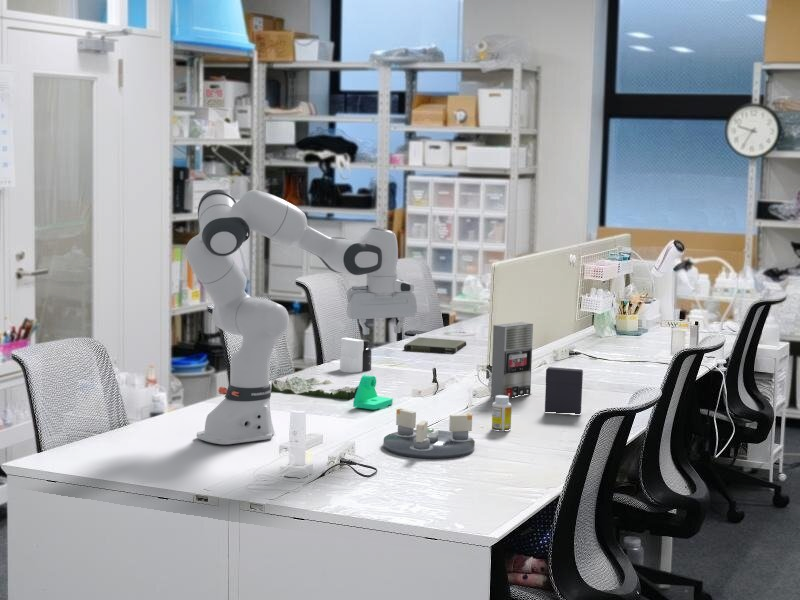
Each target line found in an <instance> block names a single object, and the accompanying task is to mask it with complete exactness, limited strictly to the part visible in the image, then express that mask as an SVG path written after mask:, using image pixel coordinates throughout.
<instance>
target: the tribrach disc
mask: <svg viewBox="0 0 800 600" xmlns="http://www.w3.org/2000/svg"><path fill="white" fill-rule="evenodd" d="M414 438H416V429H414V433H413V434H412V435H400V434H398V431H396V432H392V433H389V434H387V435H386V436H384V437H383V443H382V444H383V445H382V446H383V449H384V450H385V451H387V452H388V453H390V454H393V455H396V456H400V457H406V458H411V459H421V460H422V459H423V460H424V459H425V460H444V459H445V460H446V459H447V460H448V459H455V458H461V457H465V456H468V455H470V453H471V454H473V453H474V451H475V440H474V439H473V438H472V437H471V436H469V435H468V439H465V440H457V439H453V438H452V432H451V431H449V430H437V429H434V428H431V427H427V438H428V439H430V448H427V449H418V448H414V447H413V439H414Z"/></svg>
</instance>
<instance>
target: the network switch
mask: <svg viewBox="0 0 800 600" xmlns="http://www.w3.org/2000/svg"><path fill="white" fill-rule="evenodd" d="M466 346H467V342H466V340H458V339H445V338H437V337H436V338H433V337H421V336H419V337H417V338H415V339H413V340H411V341H409V342H407V343H405V344H404V345H403V350H404V352H411V353H412V352H416V353H426V354H427V353H431V354H432V353H433V354H434V353H435V354H447V355H449V354H450V355H455V354H456V353H458V352H459V351H461V350H462V349H463V348H465V347H466Z"/></svg>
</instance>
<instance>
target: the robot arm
mask: <svg viewBox="0 0 800 600" xmlns="http://www.w3.org/2000/svg"><path fill="white" fill-rule="evenodd" d="M197 225H198V227H199V233H198V234H197V235H195V236H194V237H192V238H190V240H189V241H188V242H187V244H186V246H185V251H184V254H185V257H186V260H187V262H188V263H189V266H190V268H191V270H192V271H193V273H194V275H195V277H196V278H197V279H198V281H199V282H200V284H201V285H202V286H203V288H204V289H205V290H206V292H207V293H208V294H209V296H210V298H211V299H212V301H213V304H214V306H213V309H212V314H211V315H212V322H213V324H214V325H215V326H216V327H217V328H218V329H220V330H221V331H224V332H226V333H229V334H231V335H232V334H233V335H236V336H237V335H238V336H242V342H241V346H240V348H239V350H237V351H236V352H234V353H233V354H232V356H231V357H230V371H229V372H230V373H229V374H230V375H229V376H230V377H229V380H230V381H229V384H228V386H227V388H226V387H223V386H220V387H218V389H217V392H218V393H219V394H221V395H224V399H223V400H222V401H220V403H219V404H217V405H216V406H215V407H214V408H213V410H211V411H210V412H209V413H208V414H207V415H206V419H205V421H204V422H205V423H204V430H201V431H198V432H196V438H197V439H199V440H201V441H205V442H207V443H212V444H218V445H232V444H233V445H234V444H240V443H249V442H256V441H263V440H265V441H266V440H270V439H273V435H275V430H274V426H273V421H272V413H271V405H270V404H271V403H270V402H271V401H270V400H271V396H272V395H271V394H272V392H271V383H270V374H271V373H270V371H271V370H270V367H271V357H272V353H273V349H274V347H275V345H276V344H277V341H278V340H279V339H280V338H281V337H282V336H284V335H285V334H286V332H287V330H288V329H289V323H290V316H289V312H288V310H287V308H286V307H285V306H283V305H282V304H279V303H277V302H275V301H273V300H269V299H263V298H262V299H261V298H255V297H252V296H250V294H247V292H246V291H245V290H246V287H247V284H248V282H247V281H248V279H247V276H246V274H245V273H244V271H243V270H242V268H241V267H240V266H239V263H237V262H236V260H235V258H234V257H233V256H232V254H234V253H235V252H236V251H238V250H239V249H240V247H241V246H243V244H244V243H245V242H247V241H248V239H250V236H251V232H255V233H258V234H260V235H262V236H264V237H266V238H268V239H269V240H272V241H275V242H278V243H281V244H284V245H287V246H298V248H301V249H303V250H305V251H306V252H309V253H310V254H313V255H314V256H317V258H319V259H320V260H321V262H322V263H323V264H324V266H325V267H327V269H328V270H330V271H331V272H333V273H339V274H341V273H342V274H346V275H350V276H357V277H359V276H362V275H366V285H354V286H352V287H350V288H349V289H348V290H347V291H346V300H347V305H346V316H347V317H348V318H349V319H350V320H358V323H359V325H360V326H361V328H362V335H363V336H365V335H370V328H369V327H367V326H366V325H365V323H366V322H367V320H369V319H371V320H372V319H389V318H390V319H392V318H397V320H398V322H397V324H396V325H394V326H393V333H395V334H400V333H401V332H402V331H401V329H402V328H401V327H402V326H403V324H404V323H405V318H410V317H411V318H412V317H415V316H416V314H417V311H418V307H417V305H418V303H417V297H416V295H415V293H414V292H413V291H414V290H415V286H414V284H412V283H410V282H407V281H404V280H403V279H398V278H399V277H398V276H399V273H398V270H397V265H398V262H399V261H398V260H399V248H398V239H397V235H396V234H395V232H394V231H392V230H389V229H385V228H378V227H371V228H369V230H368V231H367V232H365V233H364V234H363V235H361V236H359V237H357V238H355V239H353V240H352V239H348V238H344V237H337V236H336V237H334V236H333V237H331V236H328V235H325V234H324V233H322V232H320V231H318V230H316V229H315V228H312V227H311V226H309V225H308V218H307V216H306V213H305V212H303V210H301V209H300V208H299V207H298V206H296V205H295V204H293V203H291V202H289V201H288V200H285V199H283V198H281V197H279V196H276V195H275V194H271V193H268V192H265V191H263V190H262V191H261V190H259V189H251V190H248V191H246V192H245V193H244V194H243V195H242V196H241V198H240V199H239V200H238V201H236V200H235V198H234V197H233V195H231V194H230V193H229V192H227V191H225V190H223V189H213V190H209V191H207V192H206V193H205V194H203V195H202V197H201V198H200V200H199V203H198V207H197Z"/></svg>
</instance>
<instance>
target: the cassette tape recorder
mask: <svg viewBox="0 0 800 600" xmlns="http://www.w3.org/2000/svg"><path fill="white" fill-rule="evenodd" d="M492 328H493V329H492V353H491V354H492V355H491V356H492V357H491V382H490V383H491V387H490V398H492V397H493V398H492V399H495V396H497V395H505V396H509V398H512V397H515V396H518V395H524V394H531V391H532V390H531V386H532V363H533V362H532V361H533V358H532V357H533V338H534V337H533V335H534V333H533V332H534V324H533V323H529V322H525V321H520V322H511V323H502V324H493V326H492ZM512 399H513V398H512Z"/></svg>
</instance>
